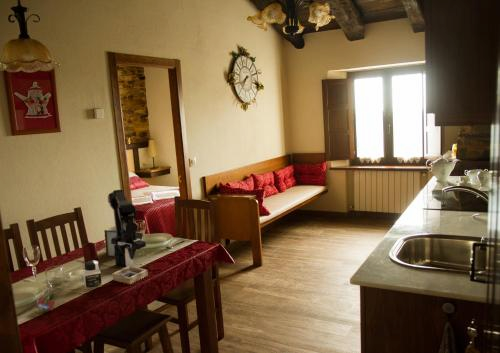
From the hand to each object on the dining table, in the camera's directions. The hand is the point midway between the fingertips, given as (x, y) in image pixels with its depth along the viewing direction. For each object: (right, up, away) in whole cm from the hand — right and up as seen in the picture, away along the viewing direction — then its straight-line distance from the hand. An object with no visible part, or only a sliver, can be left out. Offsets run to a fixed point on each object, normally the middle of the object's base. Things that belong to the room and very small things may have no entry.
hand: (129, 258), depth 210 cm
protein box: (-16, -4, +39) cm, 42 cm away
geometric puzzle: (-26, -16, -31) cm, 44 cm away
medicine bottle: (-16, -12, -7) cm, 21 cm away
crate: (0, -10, +2) cm, 10 cm away
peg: (0, -3, +1) cm, 4 cm away
